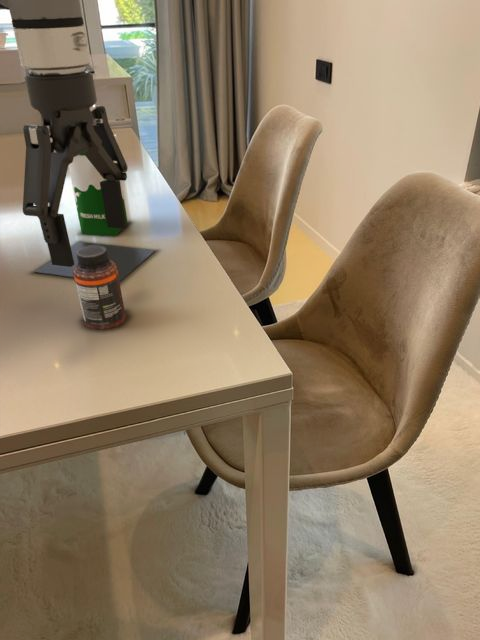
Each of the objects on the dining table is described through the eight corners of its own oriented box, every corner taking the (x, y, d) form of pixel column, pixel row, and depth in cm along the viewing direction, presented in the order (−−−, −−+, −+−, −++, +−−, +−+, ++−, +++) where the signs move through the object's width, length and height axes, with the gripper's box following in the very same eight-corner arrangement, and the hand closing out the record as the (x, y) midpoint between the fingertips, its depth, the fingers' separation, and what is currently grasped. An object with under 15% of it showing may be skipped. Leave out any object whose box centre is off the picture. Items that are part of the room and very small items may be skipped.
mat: (35, 275, 96) (34, 271, 96) (79, 244, 107) (79, 241, 107) (118, 286, 92) (117, 283, 92) (155, 253, 103) (155, 250, 103)
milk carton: (75, 237, 110) (54, 130, 99) (94, 221, 118) (76, 120, 107) (117, 239, 109) (100, 132, 98) (134, 223, 116) (120, 121, 105)
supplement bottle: (104, 308, 86) (91, 238, 79) (134, 317, 83) (123, 246, 77) (75, 325, 81) (59, 253, 75) (106, 336, 79) (92, 262, 73)
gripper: (15, 86, 53) (63, 287, 65) (138, 58, 73) (157, 216, 85) (-49, 84, 55) (8, 280, 66) (87, 58, 75) (113, 212, 86)
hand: (92, 244), depth 75 cm, fingers open, 13 cm apart
